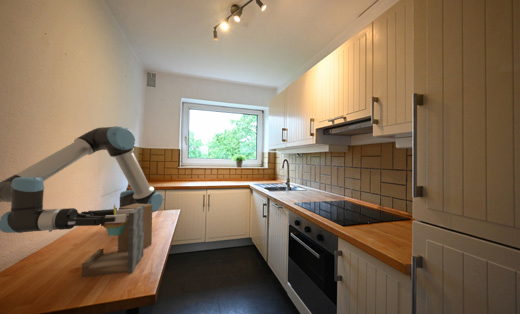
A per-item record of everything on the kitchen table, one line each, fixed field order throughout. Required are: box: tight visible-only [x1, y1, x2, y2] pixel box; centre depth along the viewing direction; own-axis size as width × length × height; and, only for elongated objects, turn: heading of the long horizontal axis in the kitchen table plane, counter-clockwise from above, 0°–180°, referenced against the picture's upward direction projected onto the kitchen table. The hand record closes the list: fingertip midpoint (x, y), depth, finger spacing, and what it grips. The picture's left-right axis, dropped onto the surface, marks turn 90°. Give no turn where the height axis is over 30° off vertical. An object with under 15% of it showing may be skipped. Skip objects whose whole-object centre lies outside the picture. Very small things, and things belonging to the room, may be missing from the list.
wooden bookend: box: [81, 205, 144, 279], centre depth 79 cm, size 14×16×22 cm
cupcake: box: [102, 203, 129, 237], centre depth 79 cm, size 9×8×12 cm
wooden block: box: [117, 204, 153, 252], centre depth 96 cm, size 10×10×20 cm
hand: (129, 215), depth 80 cm, fingers closed on cupcake, 8 cm apart
